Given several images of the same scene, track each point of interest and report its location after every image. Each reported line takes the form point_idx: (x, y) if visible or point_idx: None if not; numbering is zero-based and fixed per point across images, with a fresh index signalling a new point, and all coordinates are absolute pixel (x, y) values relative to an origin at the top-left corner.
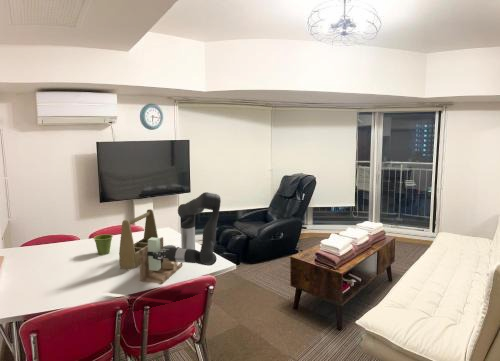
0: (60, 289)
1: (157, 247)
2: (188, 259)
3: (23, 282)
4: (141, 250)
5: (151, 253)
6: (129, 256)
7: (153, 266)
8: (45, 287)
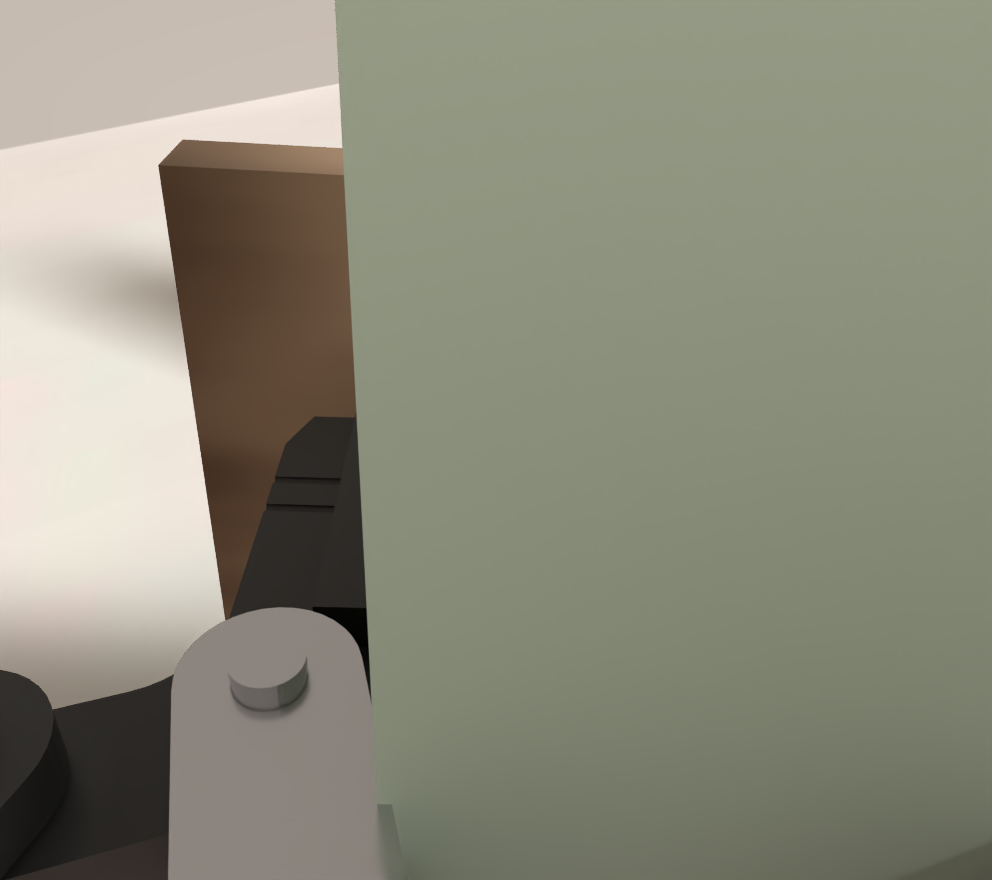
0: (112, 266)
1: (578, 495)
2: None
3: (252, 135)
4: (221, 164)
5: (249, 575)
6: None
7: None
8: (163, 207)
